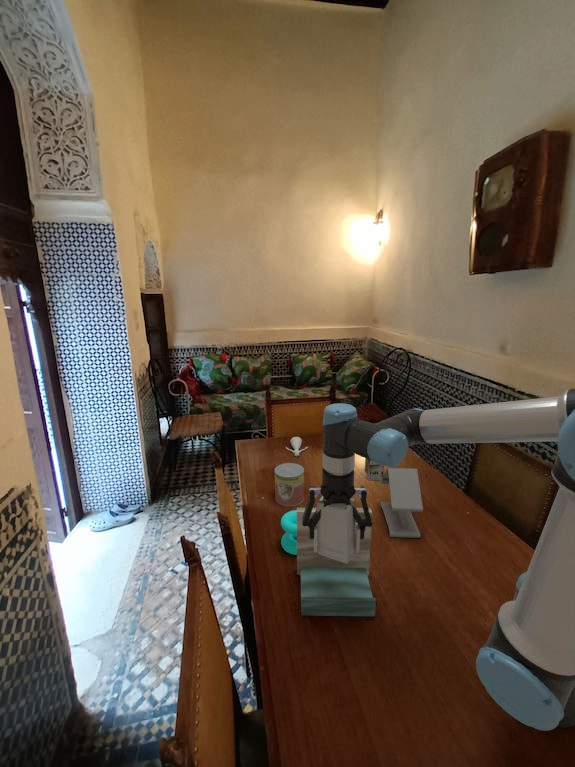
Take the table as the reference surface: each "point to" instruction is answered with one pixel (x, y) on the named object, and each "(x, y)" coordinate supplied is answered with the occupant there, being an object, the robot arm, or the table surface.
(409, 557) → the table surface
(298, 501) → the canned food
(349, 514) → the skincare box
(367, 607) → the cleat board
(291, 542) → the donuts
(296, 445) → the woman figurine
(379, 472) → the coffee box
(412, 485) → the folded metal stand
